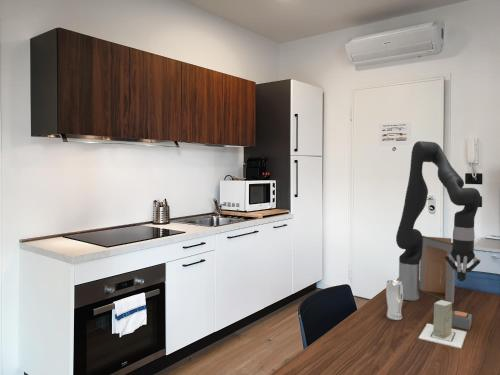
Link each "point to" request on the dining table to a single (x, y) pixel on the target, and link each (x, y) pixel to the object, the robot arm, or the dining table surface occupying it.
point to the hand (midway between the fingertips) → (461, 280)
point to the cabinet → (437, 268)
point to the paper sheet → (452, 340)
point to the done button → (460, 314)
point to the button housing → (461, 321)
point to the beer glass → (394, 299)
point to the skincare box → (442, 318)
